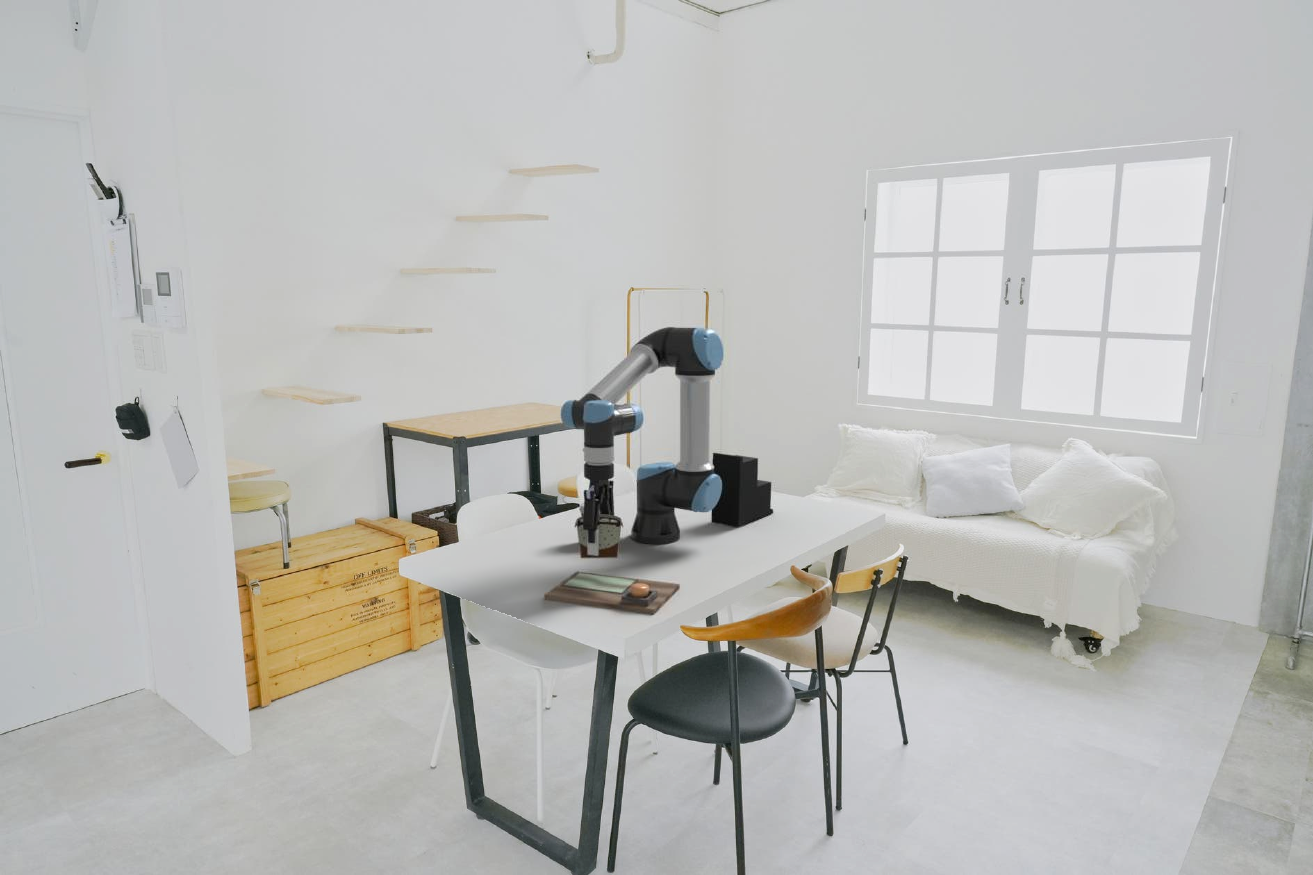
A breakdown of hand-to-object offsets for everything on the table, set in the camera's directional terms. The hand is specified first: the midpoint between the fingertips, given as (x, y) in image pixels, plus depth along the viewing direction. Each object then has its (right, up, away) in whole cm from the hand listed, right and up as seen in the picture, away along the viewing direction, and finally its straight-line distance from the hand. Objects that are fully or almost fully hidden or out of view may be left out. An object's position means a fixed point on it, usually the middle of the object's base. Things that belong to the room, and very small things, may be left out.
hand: (599, 550), depth 224 cm
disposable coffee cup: (-4, -3, +41) cm, 41 cm away
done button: (+11, -9, -11) cm, 18 cm away
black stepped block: (+44, +1, +70) cm, 82 cm away
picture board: (+4, -11, -3) cm, 12 cm away
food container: (0, -1, 0) cm, 1 cm away
